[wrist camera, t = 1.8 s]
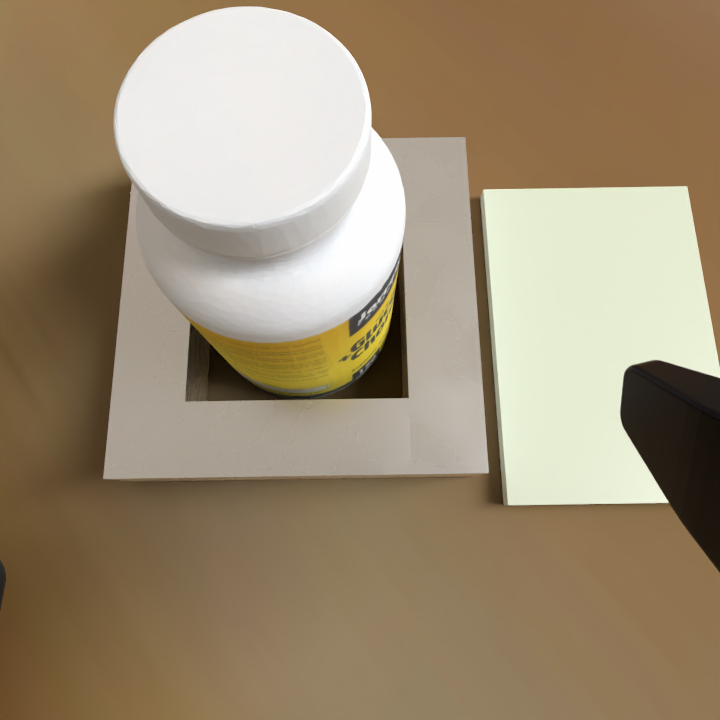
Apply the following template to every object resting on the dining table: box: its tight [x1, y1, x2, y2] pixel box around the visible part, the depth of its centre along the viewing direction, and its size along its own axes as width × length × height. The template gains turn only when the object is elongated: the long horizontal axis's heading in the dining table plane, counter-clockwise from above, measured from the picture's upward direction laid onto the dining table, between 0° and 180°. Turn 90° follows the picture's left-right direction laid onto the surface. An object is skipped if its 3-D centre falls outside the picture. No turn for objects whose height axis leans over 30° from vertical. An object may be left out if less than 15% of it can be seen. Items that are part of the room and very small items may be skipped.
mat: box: [480, 186, 720, 505], centre depth 21 cm, size 12×8×1 cm, turn 1°
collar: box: [103, 137, 489, 482], centre depth 20 cm, size 12×12×2 cm
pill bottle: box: [113, 7, 406, 399], centre depth 15 cm, size 6×6×12 cm
